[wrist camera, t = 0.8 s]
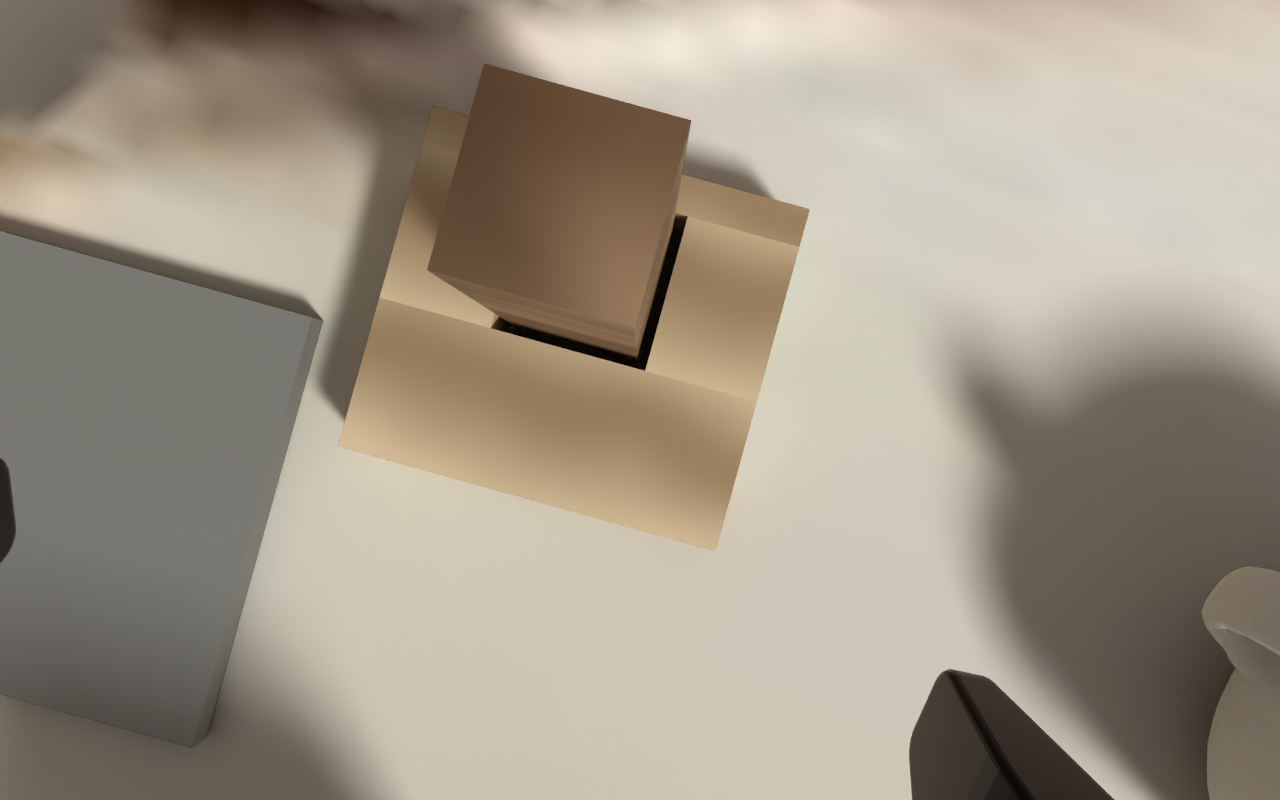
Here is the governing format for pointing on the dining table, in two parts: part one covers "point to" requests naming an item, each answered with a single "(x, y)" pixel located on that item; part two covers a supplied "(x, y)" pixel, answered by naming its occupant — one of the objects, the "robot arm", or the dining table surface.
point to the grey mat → (135, 481)
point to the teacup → (1246, 686)
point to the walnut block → (562, 210)
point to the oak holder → (580, 369)
